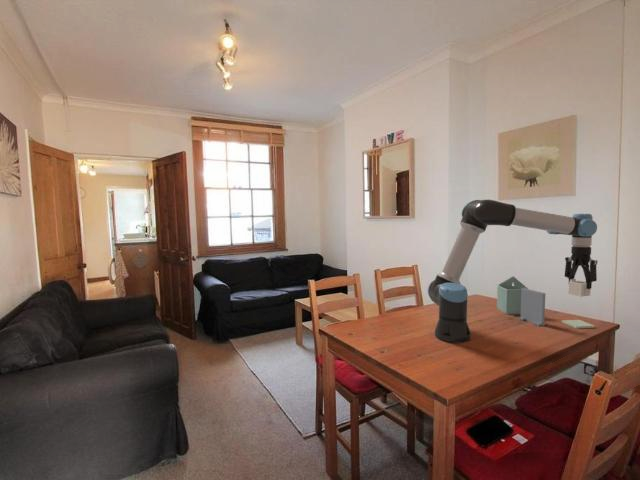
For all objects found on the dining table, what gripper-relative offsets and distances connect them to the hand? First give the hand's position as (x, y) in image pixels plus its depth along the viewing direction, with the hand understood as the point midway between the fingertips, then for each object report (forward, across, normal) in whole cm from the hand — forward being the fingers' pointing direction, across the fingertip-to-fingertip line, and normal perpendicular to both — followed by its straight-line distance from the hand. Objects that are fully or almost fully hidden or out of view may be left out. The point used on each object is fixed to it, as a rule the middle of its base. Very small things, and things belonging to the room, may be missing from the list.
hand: (579, 293), depth 166 cm
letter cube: (0, 0, 0) cm, 0 cm away
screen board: (+15, +11, +16) cm, 25 cm away
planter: (+16, +27, +14) cm, 34 cm away
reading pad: (+15, 0, 0) cm, 15 cm away
